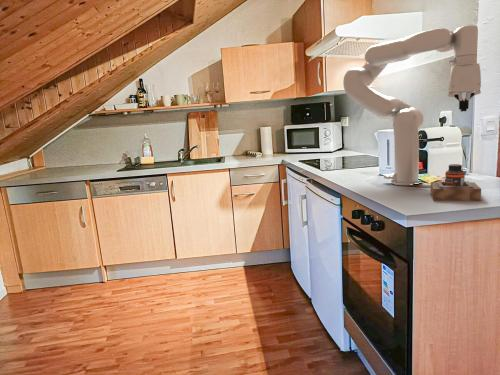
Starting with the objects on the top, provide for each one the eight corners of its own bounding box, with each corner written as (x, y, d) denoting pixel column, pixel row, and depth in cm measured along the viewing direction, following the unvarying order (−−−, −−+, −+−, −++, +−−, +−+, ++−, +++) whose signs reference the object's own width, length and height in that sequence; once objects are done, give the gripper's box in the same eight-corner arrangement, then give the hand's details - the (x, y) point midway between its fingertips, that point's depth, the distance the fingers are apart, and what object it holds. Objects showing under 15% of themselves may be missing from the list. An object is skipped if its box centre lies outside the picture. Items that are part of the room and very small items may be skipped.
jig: (433, 200, 123) (433, 187, 122) (430, 192, 134) (430, 180, 133) (480, 200, 117) (481, 187, 117) (474, 193, 128) (474, 180, 127)
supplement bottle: (442, 197, 126) (442, 165, 124) (447, 194, 130) (448, 163, 128) (461, 199, 122) (462, 166, 120) (466, 195, 126) (467, 163, 124)
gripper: (443, 63, 134) (442, 113, 137) (490, 57, 128) (488, 109, 131) (441, 65, 140) (440, 112, 144) (486, 60, 135) (484, 109, 138)
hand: (463, 111), depth 137 cm, fingers closed
